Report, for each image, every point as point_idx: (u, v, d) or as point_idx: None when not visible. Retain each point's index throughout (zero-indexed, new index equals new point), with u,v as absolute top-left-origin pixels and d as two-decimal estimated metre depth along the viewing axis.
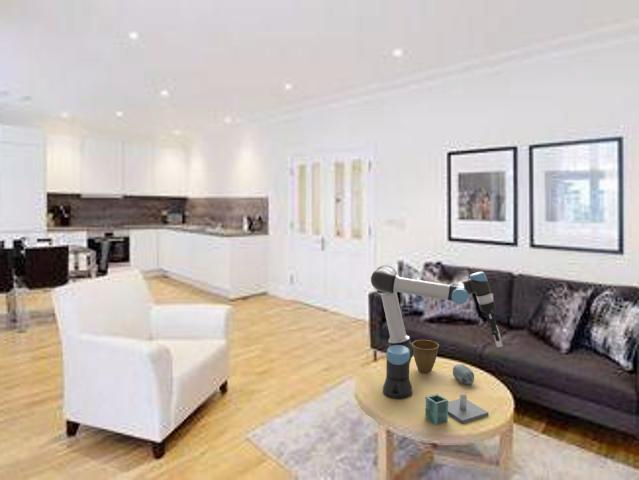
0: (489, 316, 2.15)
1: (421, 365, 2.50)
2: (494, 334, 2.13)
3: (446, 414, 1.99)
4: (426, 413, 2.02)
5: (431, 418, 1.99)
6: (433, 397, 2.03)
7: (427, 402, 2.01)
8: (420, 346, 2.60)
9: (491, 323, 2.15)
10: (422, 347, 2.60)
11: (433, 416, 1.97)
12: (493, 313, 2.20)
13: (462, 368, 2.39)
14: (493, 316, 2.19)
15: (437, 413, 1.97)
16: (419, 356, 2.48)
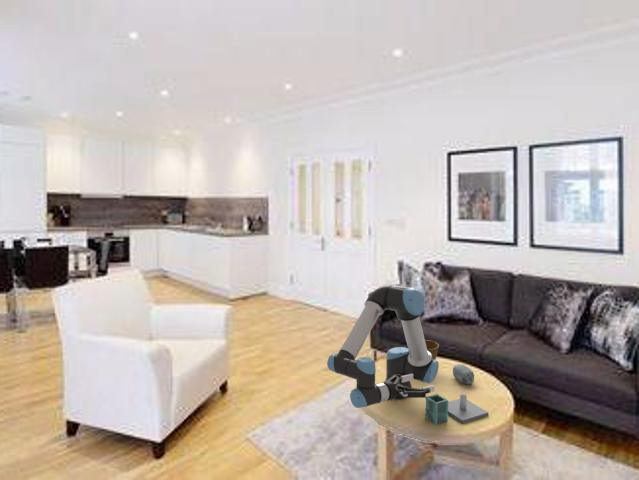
0: None
1: None
2: None
3: (446, 414, 1.99)
4: (426, 413, 2.02)
5: (431, 418, 1.99)
6: (433, 397, 2.03)
7: (427, 402, 2.01)
8: None
9: None
10: None
11: (433, 416, 1.97)
12: None
13: (462, 368, 2.39)
14: None
15: (437, 413, 1.97)
16: None
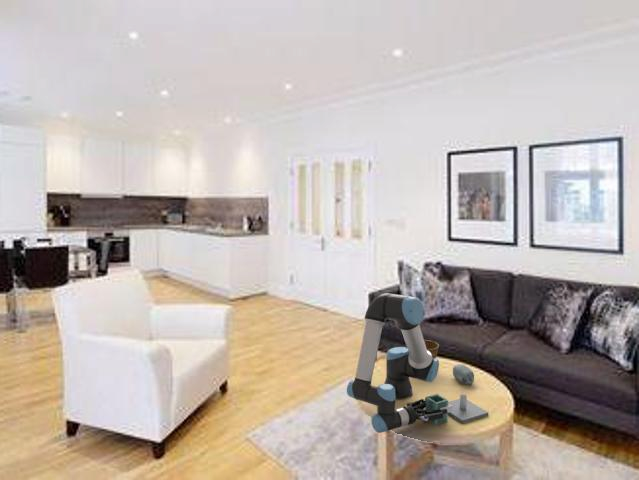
0: None
1: None
2: None
3: (446, 414, 1.99)
4: None
5: None
6: (433, 397, 2.02)
7: (427, 402, 2.01)
8: None
9: None
10: None
11: None
12: None
13: (462, 368, 2.39)
14: None
15: None
16: None
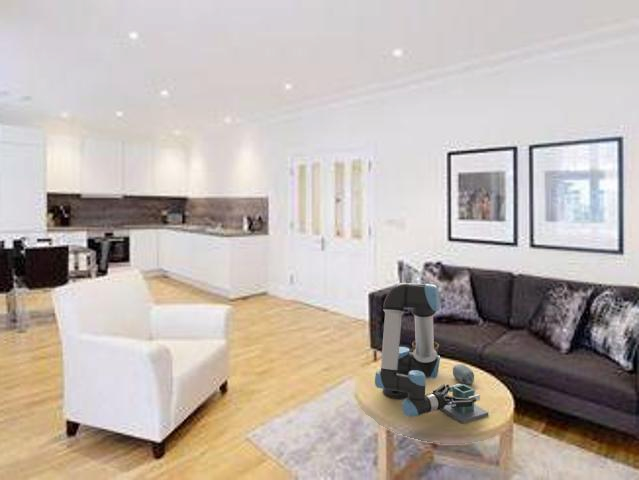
0: None
1: None
2: None
3: (473, 403, 2.06)
4: None
5: (458, 407, 2.05)
6: (460, 387, 2.09)
7: (454, 392, 2.08)
8: None
9: None
10: None
11: None
12: None
13: (462, 368, 2.39)
14: None
15: None
16: None
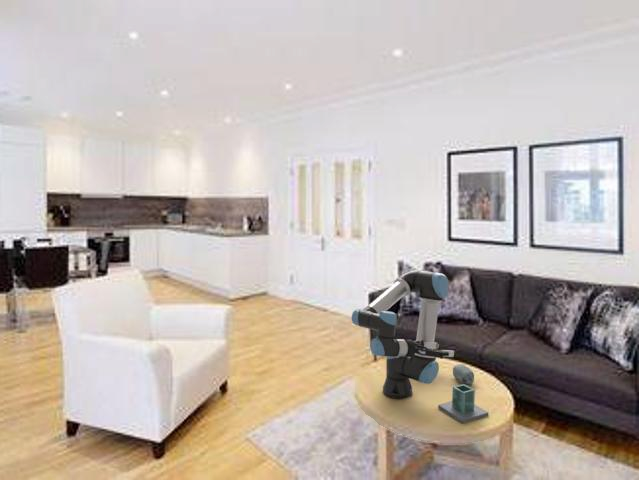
0: None
1: None
2: None
3: (473, 403, 2.06)
4: (453, 402, 2.09)
5: (458, 407, 2.05)
6: (460, 387, 2.09)
7: (454, 392, 2.08)
8: None
9: None
10: None
11: (461, 405, 2.04)
12: None
13: (462, 368, 2.39)
14: None
15: (464, 402, 2.03)
16: None
